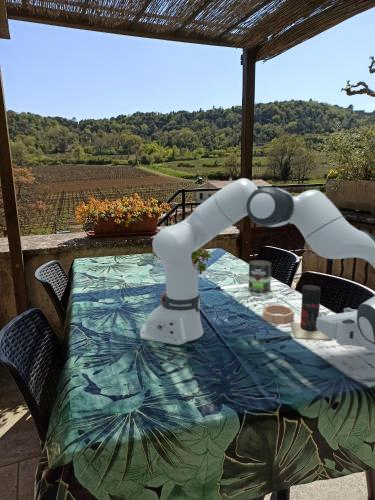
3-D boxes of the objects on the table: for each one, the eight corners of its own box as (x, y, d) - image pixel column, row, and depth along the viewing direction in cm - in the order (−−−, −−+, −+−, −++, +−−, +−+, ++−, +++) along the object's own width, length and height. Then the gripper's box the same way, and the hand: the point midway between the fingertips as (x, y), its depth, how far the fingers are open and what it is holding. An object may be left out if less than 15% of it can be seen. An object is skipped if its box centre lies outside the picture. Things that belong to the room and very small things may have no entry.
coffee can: (268, 296, 155) (269, 266, 152) (246, 293, 159) (246, 264, 156) (272, 289, 164) (272, 260, 161) (250, 287, 168) (251, 259, 165)
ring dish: (264, 322, 127) (264, 315, 126) (262, 311, 138) (262, 304, 137) (294, 324, 125) (294, 316, 125) (290, 312, 136) (291, 305, 135)
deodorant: (319, 331, 118) (322, 290, 114) (301, 330, 119) (303, 290, 115) (316, 324, 123) (318, 285, 120) (299, 323, 124) (301, 284, 121)
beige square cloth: (294, 338, 114) (294, 337, 114) (290, 323, 126) (290, 322, 126) (332, 340, 112) (332, 339, 112) (324, 325, 124) (324, 323, 124)
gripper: (397, 314, 97) (361, 298, 110) (336, 324, 92) (305, 306, 105) (395, 335, 98) (359, 316, 111) (334, 346, 93) (304, 325, 106)
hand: (333, 312), depth 108 cm, fingers open, 8 cm apart
